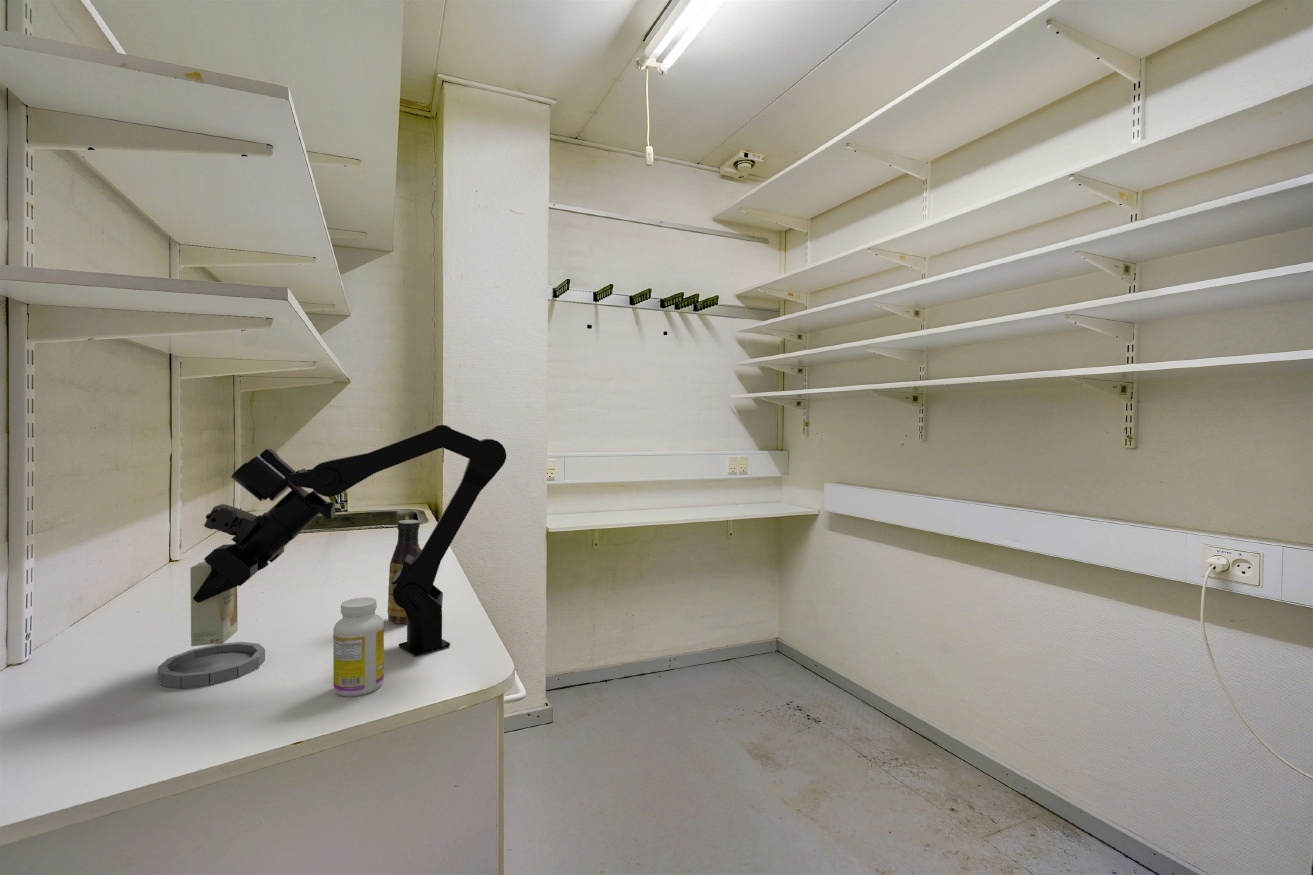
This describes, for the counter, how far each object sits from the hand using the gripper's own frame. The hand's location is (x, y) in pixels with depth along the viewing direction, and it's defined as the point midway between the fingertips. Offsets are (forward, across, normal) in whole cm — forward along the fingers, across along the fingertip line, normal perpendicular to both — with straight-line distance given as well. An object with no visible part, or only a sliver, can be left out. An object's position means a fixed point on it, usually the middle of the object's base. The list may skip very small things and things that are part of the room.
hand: (204, 594), depth 90 cm
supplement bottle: (-8, +14, +26) cm, 30 cm away
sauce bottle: (-11, -16, +28) cm, 34 cm away
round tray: (+8, 0, +9) cm, 12 cm away
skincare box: (+4, 0, +6) cm, 7 cm away
